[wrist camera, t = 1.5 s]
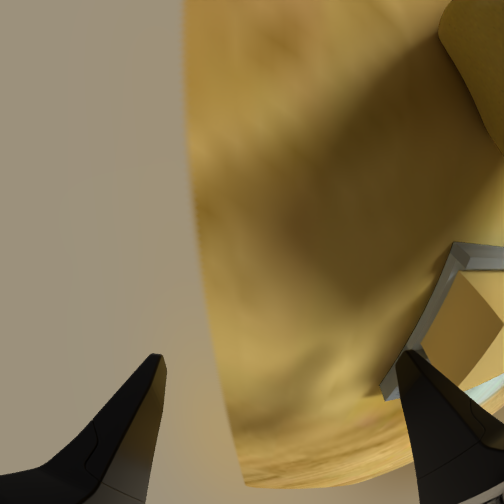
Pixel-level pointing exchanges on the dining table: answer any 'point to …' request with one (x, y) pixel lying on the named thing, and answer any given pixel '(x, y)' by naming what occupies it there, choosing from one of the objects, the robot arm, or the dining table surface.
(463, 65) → the flower pot
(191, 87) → the dining table surface
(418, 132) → the dining table surface
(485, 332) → the ochre block
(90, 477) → the robot arm
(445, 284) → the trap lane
